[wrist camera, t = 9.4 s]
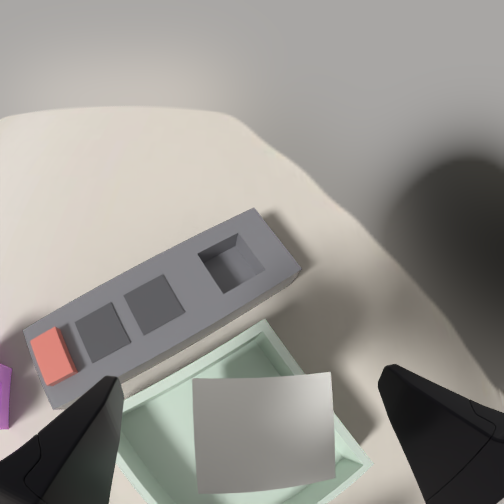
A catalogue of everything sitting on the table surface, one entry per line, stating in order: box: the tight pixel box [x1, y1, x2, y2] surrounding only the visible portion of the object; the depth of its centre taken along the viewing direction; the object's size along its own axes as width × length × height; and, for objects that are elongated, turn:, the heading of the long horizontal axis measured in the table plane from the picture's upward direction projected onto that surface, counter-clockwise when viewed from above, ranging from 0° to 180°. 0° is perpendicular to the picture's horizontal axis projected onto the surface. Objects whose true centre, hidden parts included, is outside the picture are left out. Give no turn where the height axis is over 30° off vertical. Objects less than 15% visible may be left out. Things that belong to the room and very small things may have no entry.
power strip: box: [23, 208, 302, 410], centre depth 18 cm, size 20×6×4 cm, turn 125°
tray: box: [116, 318, 374, 504], centre depth 15 cm, size 13×13×4 cm
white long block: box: [192, 372, 335, 494], centre depth 12 cm, size 4×4×11 cm
